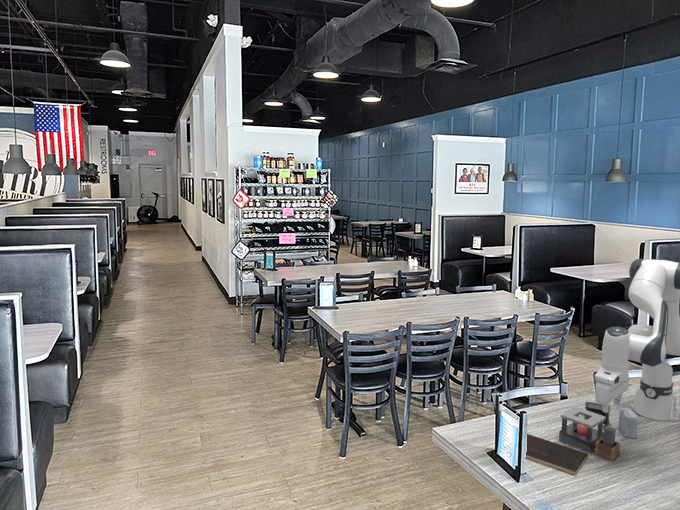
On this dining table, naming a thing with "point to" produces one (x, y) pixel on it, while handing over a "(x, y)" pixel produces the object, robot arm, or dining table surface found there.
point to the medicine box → (628, 423)
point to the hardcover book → (554, 454)
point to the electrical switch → (597, 410)
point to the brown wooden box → (607, 450)
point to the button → (581, 429)
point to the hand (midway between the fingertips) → (611, 407)
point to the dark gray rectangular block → (609, 436)
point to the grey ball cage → (570, 432)
